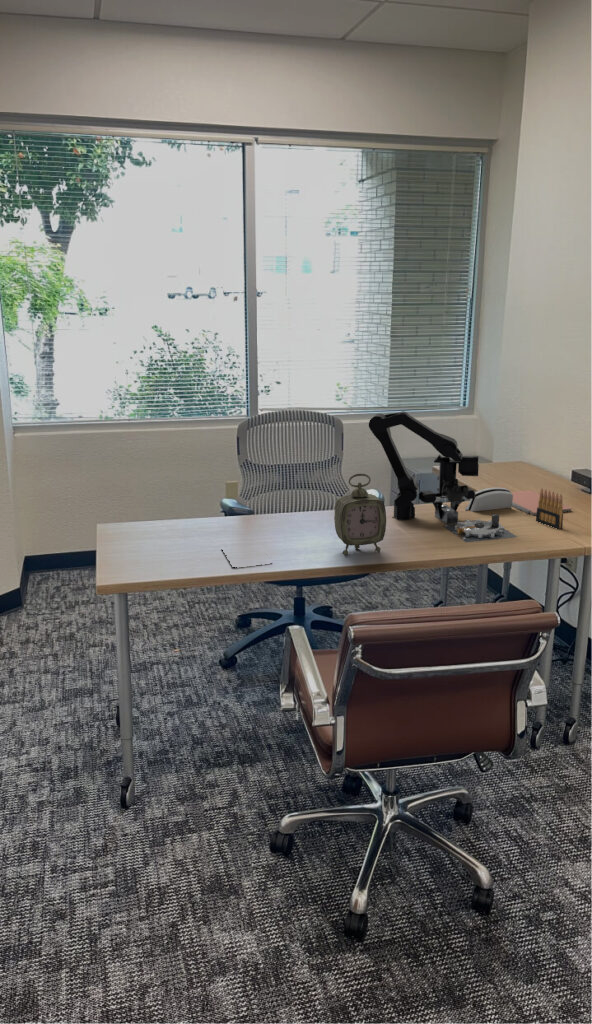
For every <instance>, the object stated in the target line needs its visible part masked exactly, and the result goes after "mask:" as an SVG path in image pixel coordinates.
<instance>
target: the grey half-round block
mask: <svg viewBox="0 0 592 1024" xmlns="http://www.w3.org/2000/svg"><path fill="white" fill-rule="evenodd" d="M511 492H512V491H511V490H509V489H508V488H505V487H486V488H484V489H480V490H477V491H475V498H474V499H469V501H468V504H467V505H466V506H465V508H464V511H465V512H466V510H467V511H469V512H479V511H489V510H496V509H497V510H499V509H506V508H509V509H512V508H513V507H512V501H513V494H512V493H511Z"/></svg>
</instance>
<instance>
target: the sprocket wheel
mask: <svg viewBox="0 0 592 1024" xmlns="http://www.w3.org/2000/svg"><path fill="white" fill-rule="evenodd" d="M454 525H455V530H457V533H458V534H466V536H467V537H470V536H476V537H478V538H482V537H490V538H494V535H500V536H501V535H502V532H504V529H505V526H502V524H501V523H500V514H497V513H495V514H491V520H481V518H479V519H478V518H477V519H476V520H470V519H465V520H464V521H458V522H457V525H456V524H454Z"/></svg>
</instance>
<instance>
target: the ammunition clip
mask: <svg viewBox="0 0 592 1024" xmlns="http://www.w3.org/2000/svg"><path fill="white" fill-rule="evenodd" d="M539 494H540V497H539V503H538V507H537V515H535V516H536V517H535V522H536V521H538V522H537V523H539V522H541V523H540V524H542V523H543V524H542V525H544V524H546V525H545V526H547V525H549V526H548V527H550V526H552V527H551V528H553V527H554V528H553V529H555V528H557V529H556V530H562V529H563V527H564V526H563V520H564V514H563V512H562V509H563V506H562V504H563V495H562V493H561V494H559V493H558V492H556V493H555V491H552V492H551V490H549V491H547V489H545V490H544V489H543V488H541V489H540V491H539Z"/></svg>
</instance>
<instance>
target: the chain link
mask: <svg viewBox="0 0 592 1024" xmlns="http://www.w3.org/2000/svg"><path fill="white" fill-rule="evenodd" d="M434 517H435V518H437V519H438V520H439V521H441V522H442V523H443V524H445V525H456V524H457V522H459V511H457V510H454V509H452V508H451V507H450V506H449V504H442V519H441V520H440V519H439V517H438V514H437V512H436V509H434Z"/></svg>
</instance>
